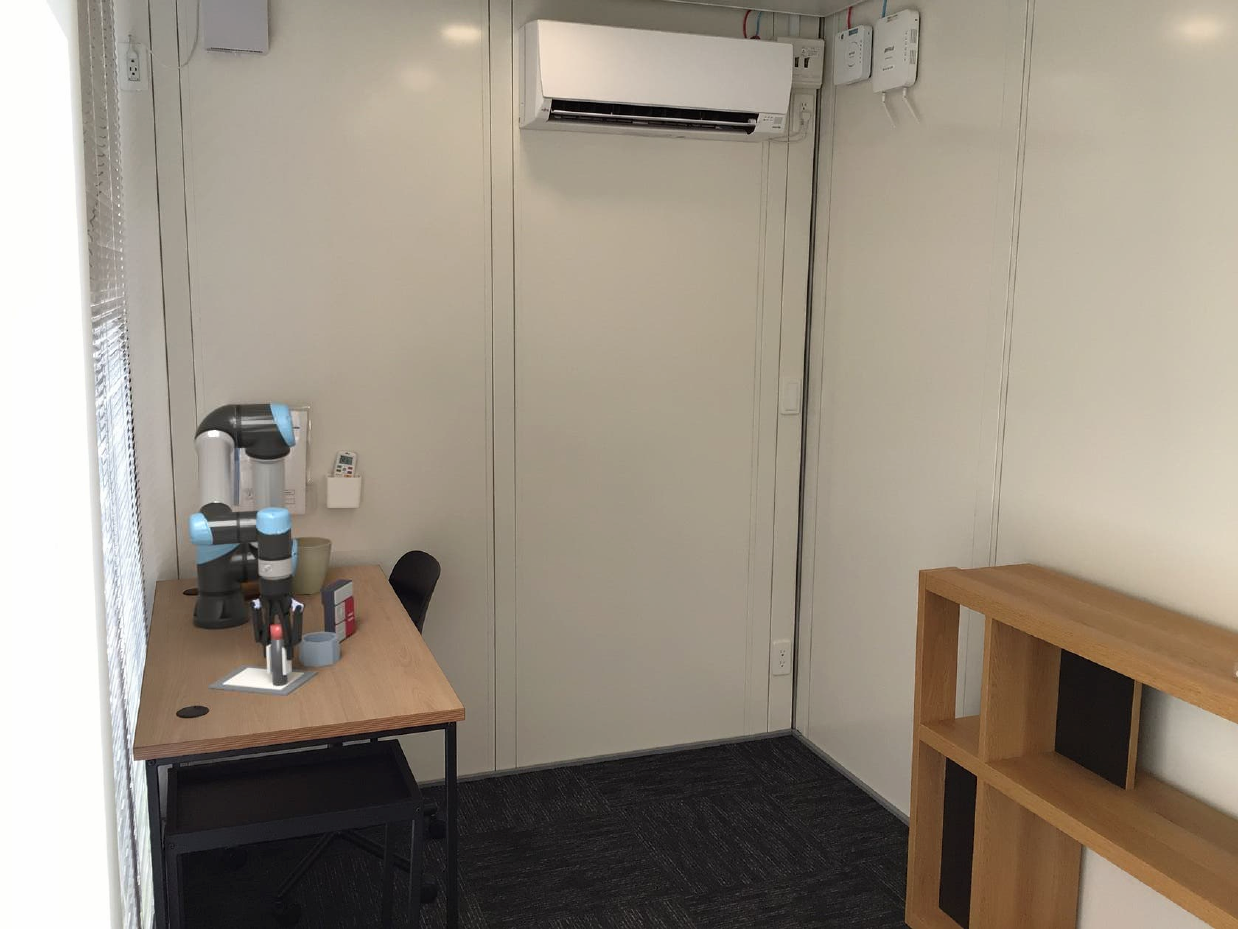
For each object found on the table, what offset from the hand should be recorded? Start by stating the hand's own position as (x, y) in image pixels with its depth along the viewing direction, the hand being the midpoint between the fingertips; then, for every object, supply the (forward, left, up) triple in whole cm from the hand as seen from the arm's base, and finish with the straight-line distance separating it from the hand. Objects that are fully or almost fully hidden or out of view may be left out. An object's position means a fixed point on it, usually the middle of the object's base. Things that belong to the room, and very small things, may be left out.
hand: (279, 672), depth 243 cm
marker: (0, 0, -3) cm, 3 cm away
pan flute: (-56, +68, -4) cm, 88 cm away
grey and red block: (-3, +36, -4) cm, 36 cm away
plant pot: (-33, +75, -4) cm, 81 cm away
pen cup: (0, +19, -4) cm, 19 cm away
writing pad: (-6, +3, -4) cm, 7 cm away
